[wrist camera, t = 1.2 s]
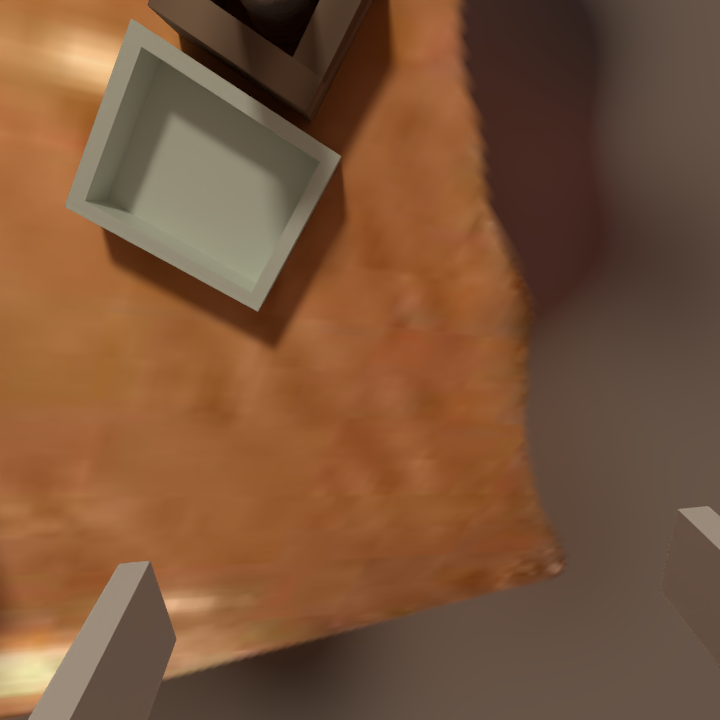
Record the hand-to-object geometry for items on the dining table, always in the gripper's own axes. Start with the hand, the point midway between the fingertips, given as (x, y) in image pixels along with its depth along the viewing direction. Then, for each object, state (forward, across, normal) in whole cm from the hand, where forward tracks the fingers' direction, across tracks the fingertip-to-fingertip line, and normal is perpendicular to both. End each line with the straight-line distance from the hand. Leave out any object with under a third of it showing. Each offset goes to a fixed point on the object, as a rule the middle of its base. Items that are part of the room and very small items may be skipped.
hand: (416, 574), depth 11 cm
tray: (+27, -10, +10) cm, 31 cm away
